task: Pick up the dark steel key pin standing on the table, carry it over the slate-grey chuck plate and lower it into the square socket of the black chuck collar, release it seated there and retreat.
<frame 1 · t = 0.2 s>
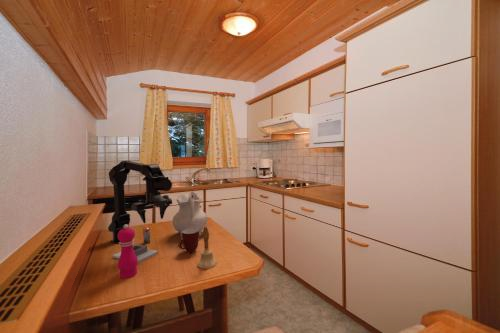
hand: (153, 220, 117), 14 cm above the table, fingers open, 9 cm apart
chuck: (135, 255, 111), on the table
hand bell: (207, 264, 101), on the table
pepper mill: (128, 274, 93), on the table
mug: (189, 252, 113), on the table
ceramic pitcher: (191, 235, 136), on the table
key pin: (147, 242, 126), on the table
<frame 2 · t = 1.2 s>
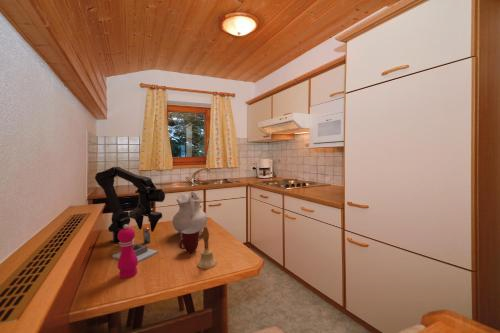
hand: (146, 230, 125), 7 cm above the table, fingers open, 9 cm apart
nothing on the table moved.
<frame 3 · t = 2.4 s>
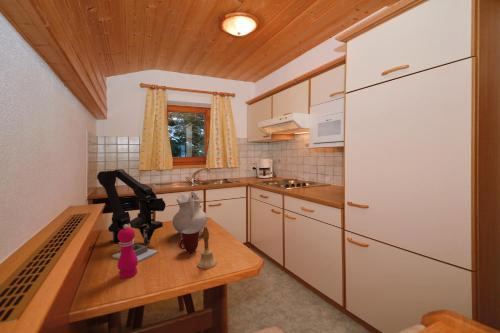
hand: (146, 239, 126), 2 cm above the table, fingers closed on key pin, 3 cm apart
key pin: (147, 242, 126), on the table, touching gripper
everything else where it was.
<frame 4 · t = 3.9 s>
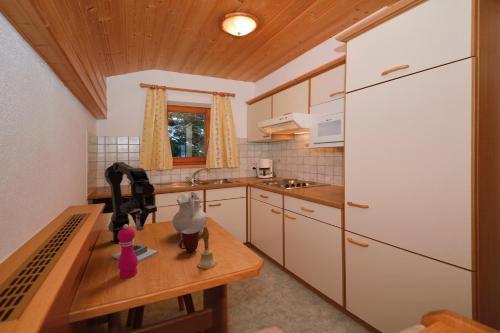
hand: (139, 226, 115), 12 cm above the table, fingers closed on key pin, 3 cm apart
key pin: (140, 229, 115), point 10 cm above the table, touching gripper
everything else where it was.
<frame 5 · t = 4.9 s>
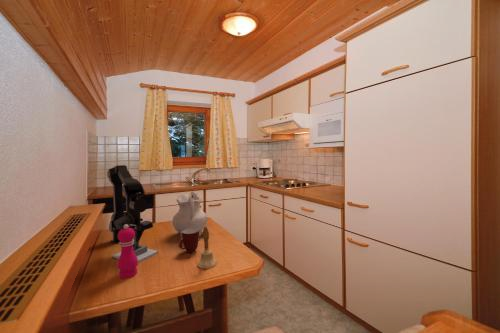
hand: (135, 241, 110), 6 cm above the table, fingers closed on key pin, 3 cm apart
key pin: (135, 245, 110), point 5 cm above the table, touching gripper
everything else where it was.
when the fingers open (4 cm above the table, at t = 5.6 s): key pin drops 1 cm, resting on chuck.
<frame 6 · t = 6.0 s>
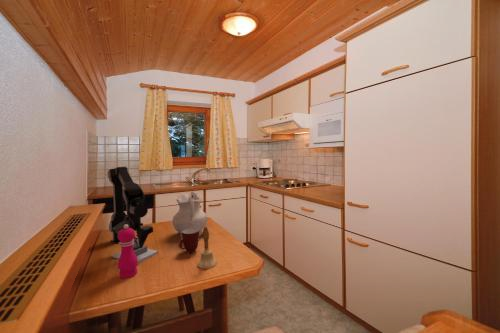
hand: (135, 246, 110), 4 cm above the table, fingers open, 8 cm apart
key pin: (135, 253, 111), point 1 cm above the table, touching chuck
everything else where it was.
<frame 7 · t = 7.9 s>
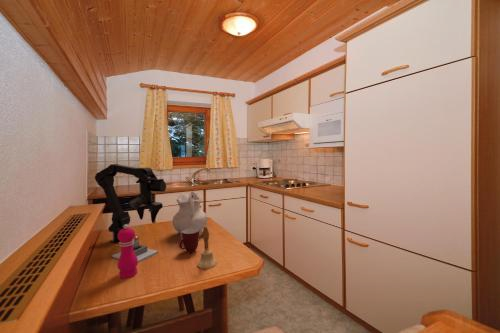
hand: (147, 220, 126), 12 cm above the table, fingers open, 9 cm apart
nothing on the table moved.
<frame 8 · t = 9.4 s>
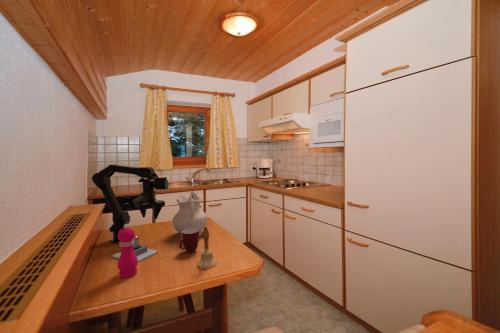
hand: (149, 218, 129), 12 cm above the table, fingers open, 9 cm apart
nothing on the table moved.
at the end: key pin 0.1 cm off-centre on the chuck, point 1.0 cm above the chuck's base; key pin tilted 1°; the gripper is holding nothing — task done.
